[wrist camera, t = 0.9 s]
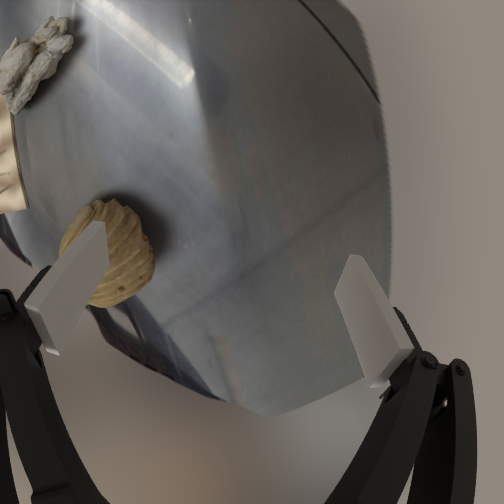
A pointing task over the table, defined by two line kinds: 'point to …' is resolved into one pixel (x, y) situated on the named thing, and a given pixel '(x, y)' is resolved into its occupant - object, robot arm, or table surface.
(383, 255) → the table surface
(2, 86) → the mineral
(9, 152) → the board
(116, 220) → the fossil
